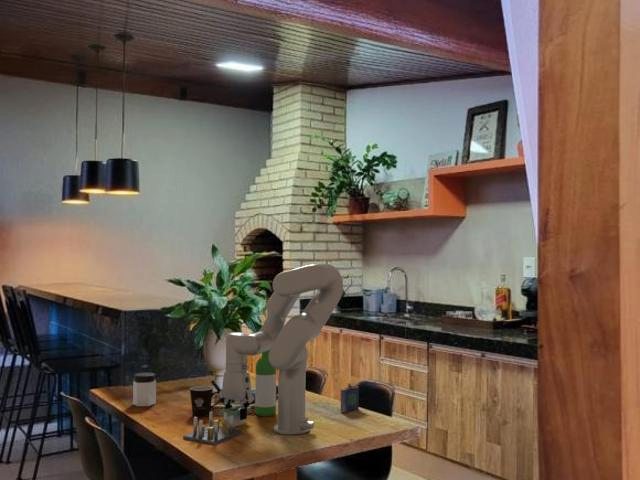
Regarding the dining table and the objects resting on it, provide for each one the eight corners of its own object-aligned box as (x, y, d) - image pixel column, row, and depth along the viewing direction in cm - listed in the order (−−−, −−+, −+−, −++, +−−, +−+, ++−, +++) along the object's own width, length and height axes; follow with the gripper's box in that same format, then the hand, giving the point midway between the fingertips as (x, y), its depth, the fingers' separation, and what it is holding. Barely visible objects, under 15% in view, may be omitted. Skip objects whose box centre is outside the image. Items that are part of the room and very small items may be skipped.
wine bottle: (251, 415, 242) (251, 335, 242) (262, 410, 248) (263, 333, 249) (268, 417, 238) (269, 336, 238) (279, 413, 245) (280, 334, 245)
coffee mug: (184, 415, 240) (185, 389, 241) (199, 410, 248) (199, 384, 248) (209, 419, 235) (210, 392, 235) (223, 414, 243) (224, 388, 243)
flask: (343, 413, 245) (343, 385, 245) (338, 412, 247) (338, 384, 247) (360, 409, 251) (360, 382, 251) (354, 408, 253) (355, 381, 253)
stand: (246, 422, 232) (246, 411, 232) (232, 427, 225) (232, 416, 225) (239, 421, 233) (239, 410, 233) (225, 426, 226) (225, 414, 226)
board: (251, 411, 232) (251, 405, 232) (234, 417, 223) (234, 411, 223) (237, 409, 235) (237, 403, 235) (220, 415, 226) (220, 409, 226)
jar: (145, 407, 253) (145, 377, 253) (129, 405, 256) (129, 375, 256) (159, 402, 261) (160, 373, 261) (143, 400, 264) (143, 371, 264)
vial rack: (242, 433, 218) (242, 414, 218) (214, 444, 205) (214, 424, 205) (212, 427, 224) (212, 409, 224) (183, 438, 211) (183, 418, 211)
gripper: (262, 368, 228) (261, 419, 228) (223, 363, 237) (223, 412, 237) (249, 371, 222) (249, 423, 221) (210, 366, 230) (210, 417, 230)
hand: (235, 417), depth 229 cm, fingers closed on board, 6 cm apart
